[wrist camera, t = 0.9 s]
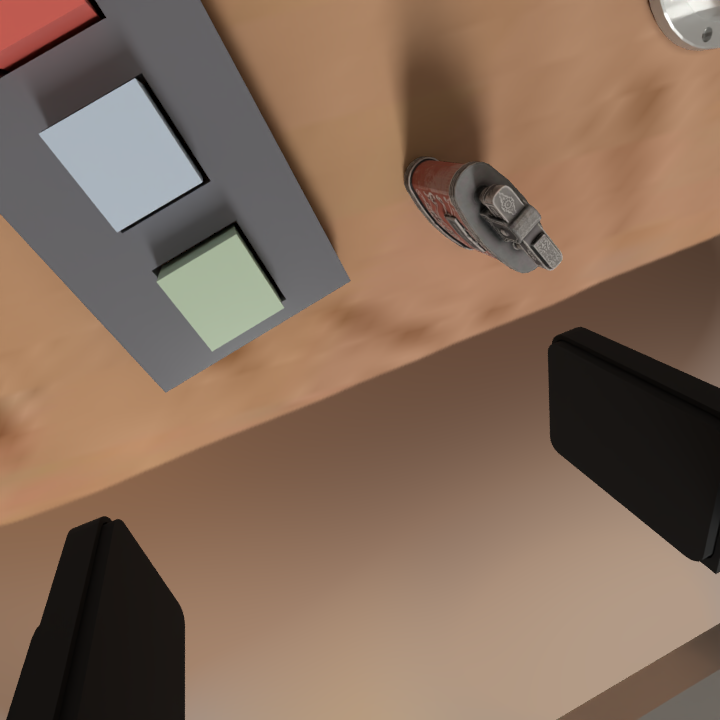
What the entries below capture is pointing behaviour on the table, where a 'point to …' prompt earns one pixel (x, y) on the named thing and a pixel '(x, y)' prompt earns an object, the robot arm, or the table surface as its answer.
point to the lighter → (481, 212)
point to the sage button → (220, 288)
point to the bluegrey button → (123, 154)
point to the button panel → (179, 216)
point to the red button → (39, 27)
